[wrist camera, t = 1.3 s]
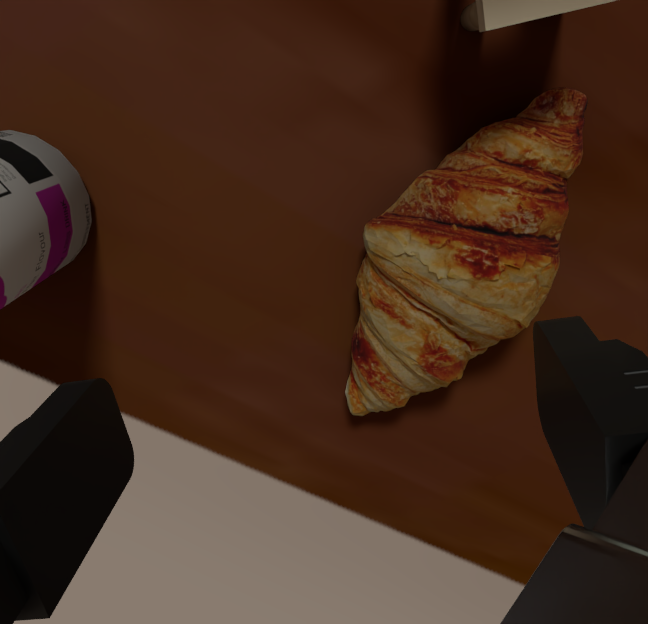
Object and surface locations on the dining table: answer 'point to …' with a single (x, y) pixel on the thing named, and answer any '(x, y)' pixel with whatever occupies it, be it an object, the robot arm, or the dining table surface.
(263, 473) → the dining table surface
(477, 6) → the stool
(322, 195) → the dining table surface
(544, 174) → the croissant
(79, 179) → the supplement can
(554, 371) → the robot arm
